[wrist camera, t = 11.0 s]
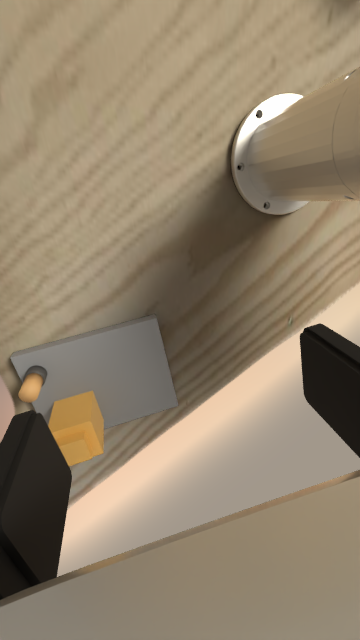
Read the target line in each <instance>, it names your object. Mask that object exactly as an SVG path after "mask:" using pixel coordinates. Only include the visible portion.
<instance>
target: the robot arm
mask: <svg viewBox="0 0 360 640" xmlns="http://www.w3.org/2000/svg"><path fill="white" fill-rule="evenodd" d="M255 114H257V118H256V115H255ZM237 166H239V167H240V169H239V170H238V168H237ZM231 167H232V174H233V178H234V182H235V185H236V187H237V189H238V191H239V193H240V194H241V196H242V197H243V199H244V200H245V201H246V202H247V203H248V204H249V205H250V206H251V207H253V208H255V209H256V210H258V211H260V212H263V213H266V214H274V215H281V214H287V213H291V212H294V211H296V210H298V209H300V208H302V207H303V206H305V205H306V204H308V203H309V202H310V201H360V67H358V68H356V69H354V70H353V71H351V72H349V73H347V74H345V75H343V76H341V77H339V78H338V79H336V80H334V81H332V82H330V83H328V84H326V85H325V86H323V87H321V88H319V89H317V90H315V91H313V92H312V93H310V94H308V95H306V96H302V95H298V94H293V93H283V94H278V95H275V96H272V97H270V98H268V99H266V100H264V101H262V102H261V103H260V104H258V105H257V106H256V107H254V108H253V109H252V110H251V111H250V112H249V113H248V115H247V116H246V117H245V118H244V120H243V122H242V123H241V125H240V126H239V129H238V131H237V133H236V136H235V139H234V143H233V147H232V155H231ZM264 204H265V207H263V206H264ZM300 345H301V346H300V347H301V360H302V375H303V389H304V395H305V398H306V400H307V402H308V403H309V404H310V405H311V406H312V407H313V408H314V409H315V411H317V413H318V414H319V415H320V416H321V417H322V418H323V419H324V420H325V421H326V422H327V423H328V424H329V425H330V427H331V428H333V430H334V431H335V432H336V433H337V434H338V435H339V436H340V437H341V438H342V439H343V440H344V441H345V443H346V444H347V445H348V446H349V447H350V448H351V449H352V450H353V451H354V452H355V453H356V454H357V455H358V456H359V458H360V347H359V346H357V345H355V344H354V343H352V342H351V341H349V340H347V339H346V338H344V337H342V336H341V335H339V334H338V333H336V332H334V331H333V330H331V329H329V328H328V327H326V326H324V325H323V324H317V325H314V326H310V327H307V328H305V329H304V331H303V333H301V334H300ZM71 480H72V475H71V470H70V467H69V466H68V464H67V462H66V460H65V458H64V456H63V454H62V452H61V450H60V448H59V446H58V444H57V442H56V440H55V438H54V437H53V435H52V433H51V431H50V429H49V427H48V425H47V423H46V421H45V419H44V417H43V415H42V414H41V413H36V412H35V411H33V410H31V411H28V412H25V413H21V414H18V415H15V416H14V417H13V418H12V420H11V423H10V425H9V427H8V429H7V431H6V433H5V435H4V438H3V440H2V442H1V444H0V640H360V470H358V471H355V472H352V473H349V474H346V475H343V476H340V477H337V478H335V479H332V480H329V481H326V482H323V483H320V484H317V485H314V486H311V487H308V488H306V489H303V490H300V491H297V492H294V493H291V494H288V495H285V496H282V497H280V498H277V499H274V500H271V501H268V502H265V503H263V504H260V505H257V506H254V507H251V508H248V509H245V510H242V511H240V512H237V513H234V514H232V515H228V516H225V517H223V518H220V519H217V520H214V521H211V522H209V523H206V524H203V525H200V526H197V527H194V528H192V529H189V530H186V531H183V532H180V533H177V534H175V535H172V536H169V537H166V538H163V539H161V540H158V541H155V542H152V543H150V544H147V545H144V546H141V547H138V548H136V549H133V550H130V551H127V552H124V553H122V554H119V555H116V556H113V557H111V558H108V559H105V560H102V561H99V562H97V563H94V564H91V565H88V566H86V567H83V568H80V569H78V570H75V571H72V572H70V573H67V574H64V575H62V576H59V577H57V570H58V564H59V558H60V551H61V545H62V538H63V532H64V526H65V519H66V512H67V506H68V500H69V493H70V487H71Z"/></svg>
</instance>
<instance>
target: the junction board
mask: <svg viewBox="0 0 360 640" xmlns="http://www.w3.org/2000/svg"><path fill="white" fill-rule="evenodd" d="M10 358H11V360H12V363H13V365H14V367H15V369H16V371H17V373H18V375H19V377H20V379H21V381H22V383H23V385H22V387H21V389H20V391H19V398H20V399H21V400H22V401H24V402H32V404H33V406H34V408H35V410H36V413H41V414H42V415H43V417H44V419H45V421H46V423H47V425H48V424H49V420H50V417H51V413H52V409H53V405H54V402H55V401H59V400H62V399H65V398H69V397H72V396H76V395H79V394H82V393H86V392H89V391H93V392H94V395H95V398H96V400H97V403H98V406H99V409H100V411H101V414H102V417H103V419H104V429H106V428H110V427H113V426H116V425H119V424H122V423H125V422H129V421H132V420H135V419H138V418H141V417H145V416H148V415H151V414H154V413H157V412H161V411H164V410H167V409H170V408H173V407H177V406H178V402H177V398H176V393H175V389H174V385H173V381H172V377H171V373H170V369H169V365H168V361H167V357H166V353H165V349H164V345H163V341H162V337H161V333H160V329H159V325H158V321H157V318H156V315H155V314H153V315H150V316H146V317H142V318H139V319H135V320H131V321H127V322H124V323H120V324H116V325H113V326H109V327H105V328H102V329H98V330H94V331H91V332H87V333H83V334H79V335H76V336H72V337H68V338H65V339H61V340H57V341H54V342H50V343H46V344H42V345H39V346H35V347H31V348H28V349H24V350H20V351H17V352H14V353H13V354H12V356H11V357H10Z"/></svg>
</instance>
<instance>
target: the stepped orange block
mask: <svg viewBox="0 0 360 640" xmlns="http://www.w3.org/2000/svg"><path fill="white" fill-rule="evenodd" d="M48 427H49V429H50V431H51V433H52V435H53V437H54V438H55V440H56V442H57V444H58V446H59V448H60V450H61V452H62V454H63V456H64V458H65V460H66V462H67V464H68V466H71V465H74V464H77V463H81V462H84V461H87V460H90V459H92V457H94V456H97V455H100V454H103V447H104V419H103V417H102V414H101V411H100V409H99V406H98V403H97V400H96V398H95V395H94V392H93V391H89V392H86V393H82V394H79V395H76V396H72V397H69V398H65V399H62V400H59V401H55V402H54V405H53V409H52V413H51V417H50V420H49V424H48Z"/></svg>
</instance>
